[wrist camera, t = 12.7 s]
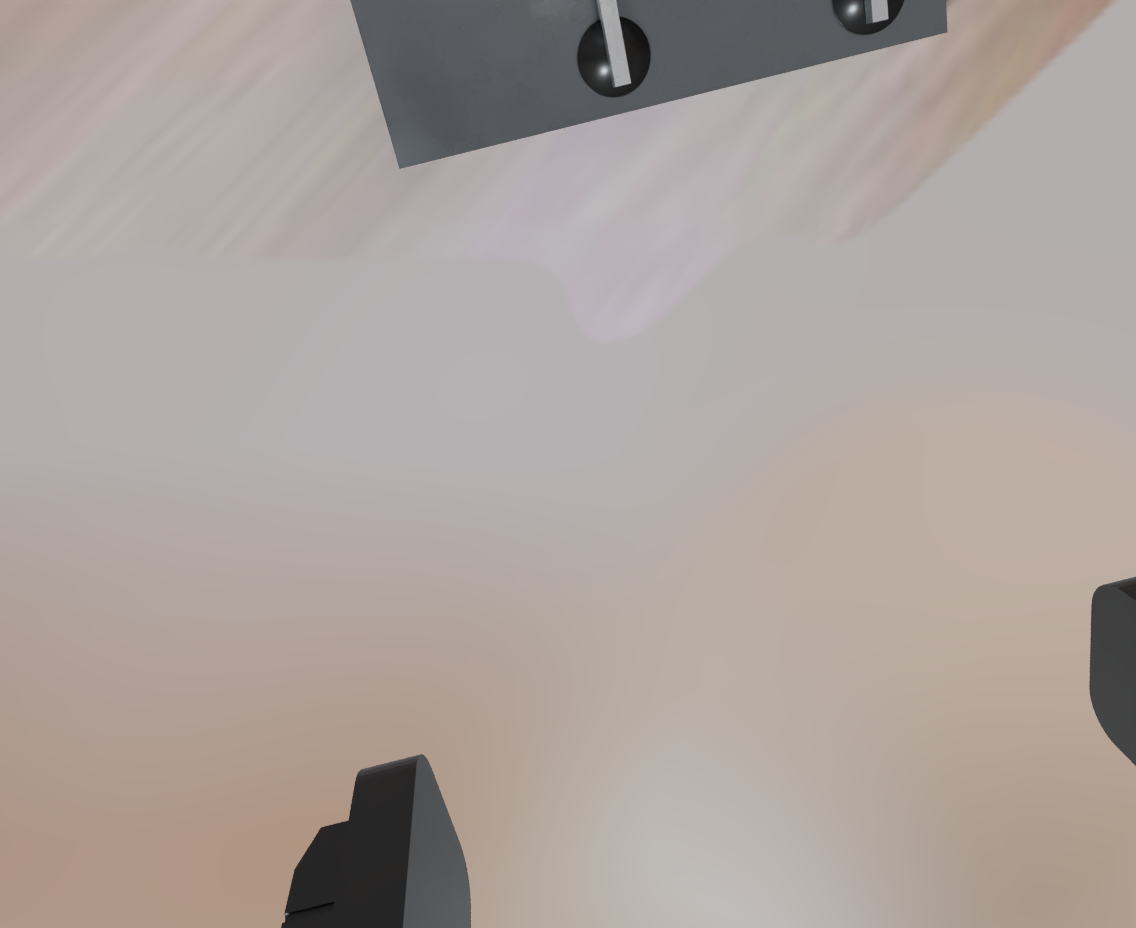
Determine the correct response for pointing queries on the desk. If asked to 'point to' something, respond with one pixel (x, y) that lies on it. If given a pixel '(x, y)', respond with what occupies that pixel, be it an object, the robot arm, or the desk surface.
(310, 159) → the desk surface
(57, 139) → the desk surface
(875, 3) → the silver ball-topped post
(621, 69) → the gold topped lever
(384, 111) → the plate
